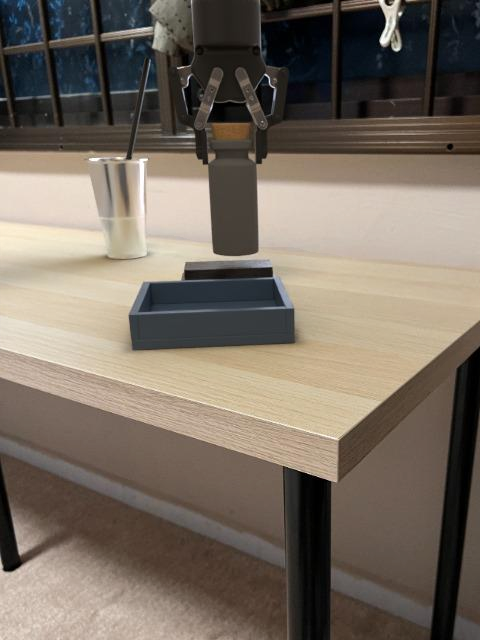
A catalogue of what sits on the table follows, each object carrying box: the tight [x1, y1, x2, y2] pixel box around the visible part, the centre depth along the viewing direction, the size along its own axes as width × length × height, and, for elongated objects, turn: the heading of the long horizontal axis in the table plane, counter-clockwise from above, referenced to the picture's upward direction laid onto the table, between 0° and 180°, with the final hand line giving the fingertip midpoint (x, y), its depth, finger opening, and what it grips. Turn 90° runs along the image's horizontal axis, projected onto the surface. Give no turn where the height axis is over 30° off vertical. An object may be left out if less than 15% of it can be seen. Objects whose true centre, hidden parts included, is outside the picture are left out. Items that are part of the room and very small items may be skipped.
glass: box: [83, 57, 151, 260], centre depth 97 cm, size 11×11×30 cm
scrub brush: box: [180, 258, 277, 281], centre depth 78 cm, size 12×6×4 cm, turn 97°
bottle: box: [207, 122, 260, 257], centre depth 74 cm, size 6×6×15 cm
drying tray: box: [128, 276, 296, 351], centre depth 64 cm, size 16×14×4 cm
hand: (232, 163), depth 73 cm, fingers closed on bottle, 5 cm apart
